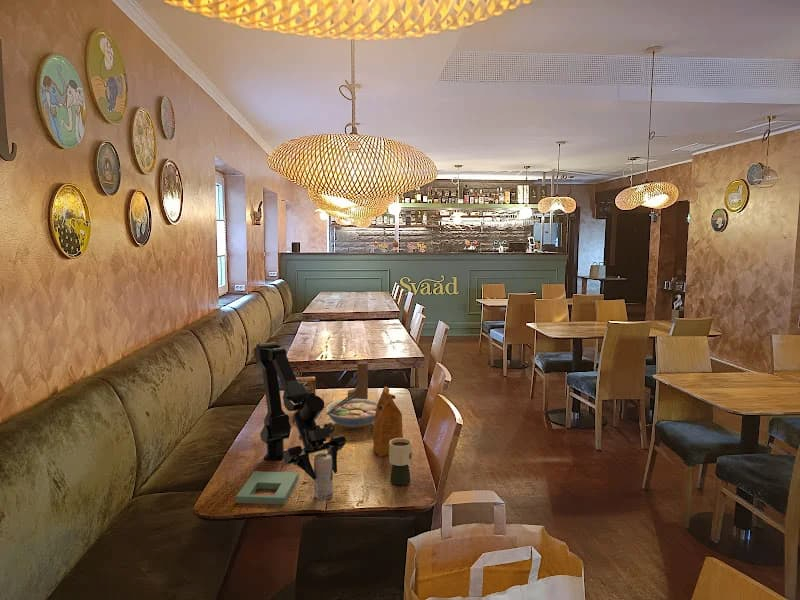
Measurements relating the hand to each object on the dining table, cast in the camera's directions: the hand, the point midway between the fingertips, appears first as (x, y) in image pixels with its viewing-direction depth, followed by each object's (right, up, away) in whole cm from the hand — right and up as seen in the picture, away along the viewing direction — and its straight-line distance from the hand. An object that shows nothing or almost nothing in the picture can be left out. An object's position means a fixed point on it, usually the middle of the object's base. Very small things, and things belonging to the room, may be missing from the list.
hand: (325, 476), depth 156 cm
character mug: (+22, -6, +11) cm, 25 cm away
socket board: (-18, -6, +5) cm, 19 cm away
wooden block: (+2, +5, +88) cm, 88 cm away
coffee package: (+17, -2, +35) cm, 39 cm away
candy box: (-19, +3, +73) cm, 75 cm away
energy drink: (-1, -7, +2) cm, 7 cm away
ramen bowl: (+4, +1, +58) cm, 59 cm away
